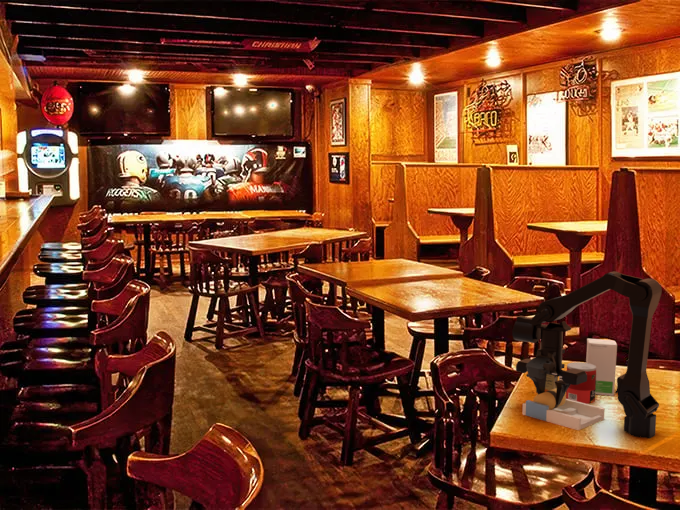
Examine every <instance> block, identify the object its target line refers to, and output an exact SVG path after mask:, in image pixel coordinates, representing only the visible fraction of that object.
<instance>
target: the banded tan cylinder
mask: <svg viewBox="0 0 680 510" xmlns="http://www.w3.org/2000/svg"><path fill="white" fill-rule="evenodd" d="M556 391H557V388H556V389H552V390H549V391H546V392H544V393H541V394H538V393H537V394H536V395H535V396H534V397H533V401H534V402H537V403H541V404H545V405H549V409H550V410H552V409H554V408H557V407H559V406H562V405H563V404H564V403H565V401H566V394H565V395H564V397H563V399H562V401H561V403H560V404H559V405H557V404H556Z"/></svg>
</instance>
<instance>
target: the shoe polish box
mask: <svg viewBox="0 0 680 510" xmlns="http://www.w3.org/2000/svg"><path fill="white" fill-rule="evenodd" d="M558 380H559V377H558V376H554V375H548V374H547V376H546V385H545V392H546V391H549V390H552V389H556V388H557V386H556V384H555V381H558ZM535 390H536V389H535ZM536 394H538V393H537V390H536Z"/></svg>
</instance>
